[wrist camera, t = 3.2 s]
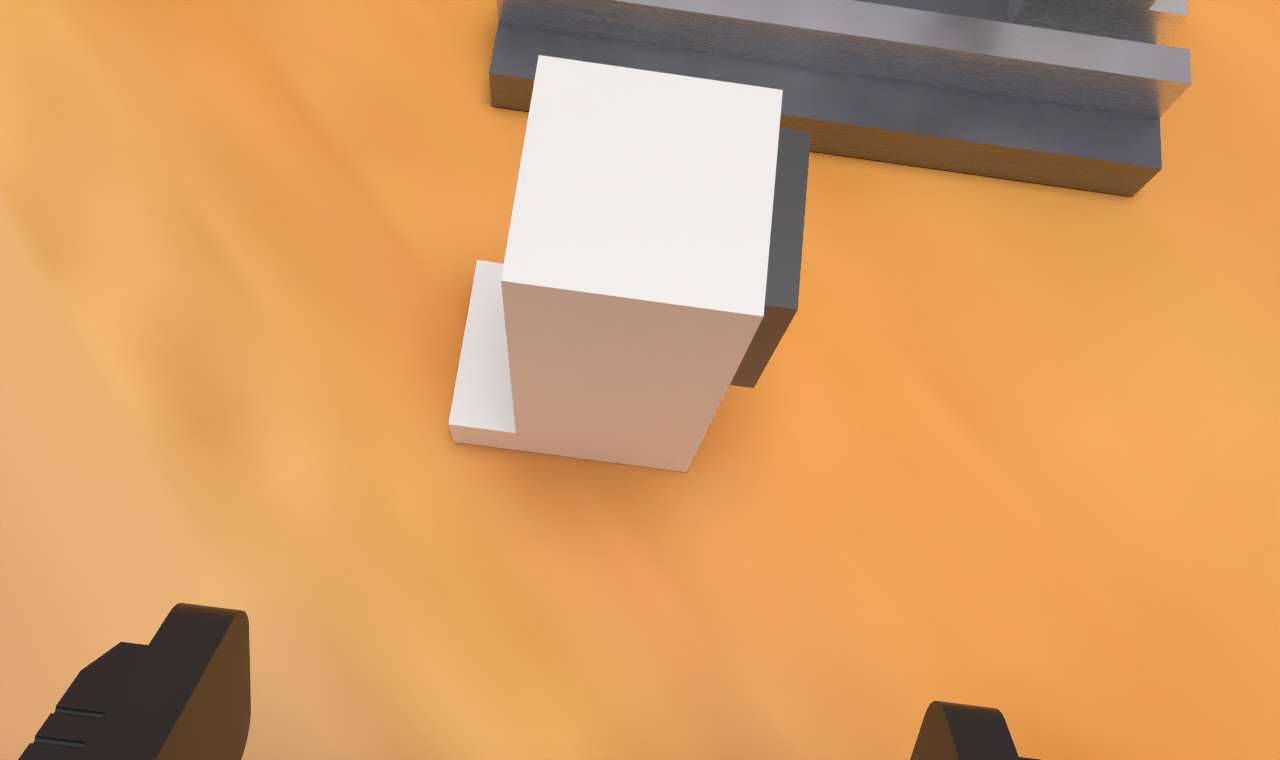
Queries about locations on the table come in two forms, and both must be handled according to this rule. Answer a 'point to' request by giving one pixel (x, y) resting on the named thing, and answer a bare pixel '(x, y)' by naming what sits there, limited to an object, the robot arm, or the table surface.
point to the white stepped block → (634, 266)
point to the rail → (901, 74)
